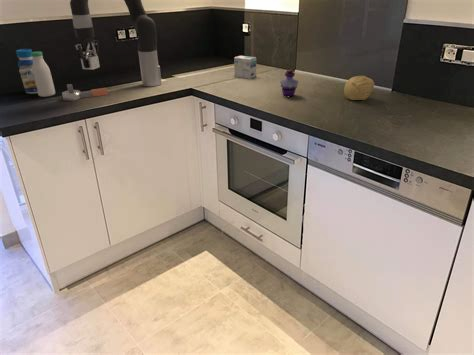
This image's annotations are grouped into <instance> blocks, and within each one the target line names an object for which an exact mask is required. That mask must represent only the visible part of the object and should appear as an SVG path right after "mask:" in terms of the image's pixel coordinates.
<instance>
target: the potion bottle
mask: <svg viewBox="0 0 474 355" xmlns="http://www.w3.org/2000/svg"><path fill="white" fill-rule="evenodd" d="M295 74H296V73H295V72H294V70H293V69H287V70H286V72H285V73H284V76H285V77H286V78H284V79H281V80H280V87H281V91H282V96H283V95H284V96H289V97H288V98H291V97H290V96H295V94H296V93H295V92H296V90H297V88H298V84H299V80H297V79H294V77H295ZM284 96H283V97H284Z"/></svg>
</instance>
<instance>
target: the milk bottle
mask: <svg viewBox="0 0 474 355" xmlns="http://www.w3.org/2000/svg"><path fill="white" fill-rule="evenodd" d="M31 55H32V58H33V66H32V72H33V77H34V81H35V85H36V89H37V92H38V93H37V96H38V97H43V98H44V97H51V96H54V95H56V89H55V84H54V80H53V78H52V76H53V75H52V73H51V70H50V67H49V65H48V64H47V62H46V61H45V60H44V56H43V55H44V54H43V51H39V50H38V51H32V53H31Z"/></svg>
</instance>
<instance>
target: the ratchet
mask: <svg viewBox="0 0 474 355" xmlns="http://www.w3.org/2000/svg"><path fill="white" fill-rule="evenodd" d="M66 87H67V90H65V91H62V92H61V95H62V100H63V101H65V102H75V101H79V100H81V99H86V98H92V97H95V98H96V97H100V96H108V95H109V94H108V93H109V92H108V88H106V87H100V88H93V89H90V90H86V91H80V89H79V90H78V89H74V87H73V84H72V83H70V84H69V83H68V84H66Z"/></svg>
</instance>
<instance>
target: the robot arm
mask: <svg viewBox="0 0 474 355" xmlns="http://www.w3.org/2000/svg"><path fill="white" fill-rule="evenodd" d="M123 1H124V3H125V5H126V7H127V10H128V12H129V16H130V19H131V23H132V27H133V28H134V31H135V33H137V38H138V45H137V53H138V59H139V60H138V61H139V67H140V75H141V83H142V86H144V87H157V86H160V85H162V75H161V66H160V65H159V59H158V58H159V57H158V51H157V50H158V48H157V45H158V35H157V33H158V32H157V26H156V23H155V21H154V20H153V18H151V17H149V16H148V14H147V13H146V10H145V9H144V8H145V7H144V5H143V3H142V0H123ZM69 7H70V10H71V15H72V16H71V18H72V24H73V29H74V33H75V38H76V39H78V44H74V46H73V47H74V50H75V53H76V55H77V58H78V59H79V60H81V59H82V60H83V65H84V67H85V68H89V62H88V60H87V59H88V55H95V56H98V55H99V54H100V46H99V40H98V39H97V40H96V39H94V38H95V31H94V26H93V21H92V16H91V13H90V8H89V0H70V1H69Z"/></svg>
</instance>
